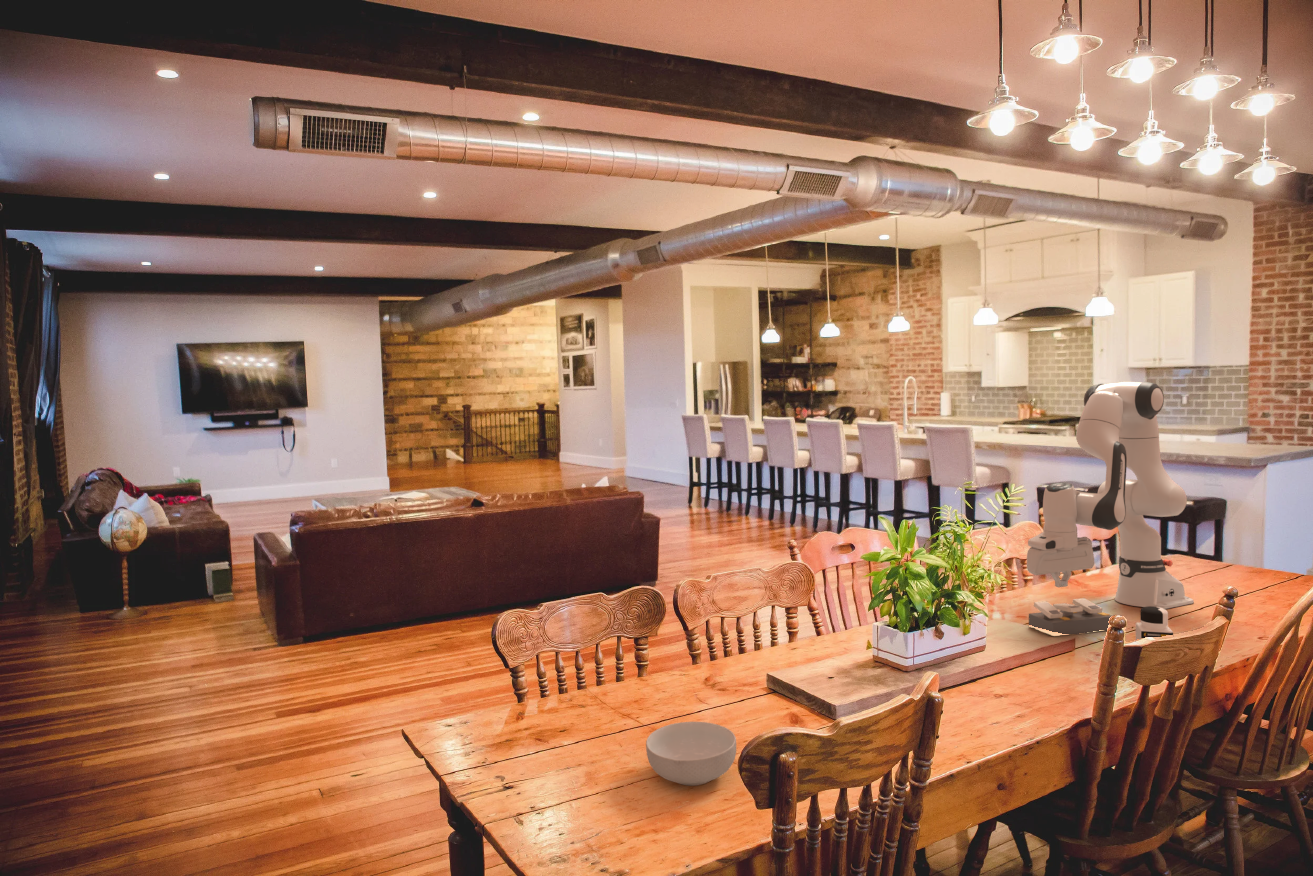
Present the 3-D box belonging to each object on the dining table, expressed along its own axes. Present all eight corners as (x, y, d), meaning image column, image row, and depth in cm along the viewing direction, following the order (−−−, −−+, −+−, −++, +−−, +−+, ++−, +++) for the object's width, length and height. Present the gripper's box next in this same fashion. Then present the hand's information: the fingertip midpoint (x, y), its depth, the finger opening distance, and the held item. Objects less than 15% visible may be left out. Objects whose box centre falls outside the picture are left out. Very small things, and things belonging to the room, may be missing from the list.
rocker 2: (1065, 607, 236) (1064, 602, 236) (1082, 611, 229) (1082, 606, 229) (1053, 608, 235) (1053, 603, 235) (1070, 612, 229) (1070, 607, 229)
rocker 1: (1045, 604, 235) (1046, 600, 234) (1062, 617, 228) (1063, 613, 228) (1033, 606, 234) (1034, 601, 234) (1049, 618, 227) (1050, 614, 227)
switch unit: (1087, 620, 240) (1087, 603, 240) (1113, 630, 230) (1113, 612, 230) (1028, 627, 236) (1028, 609, 235) (1052, 637, 226) (1052, 618, 226)
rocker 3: (1084, 602, 238) (1084, 597, 237) (1101, 612, 231) (1102, 607, 231) (1072, 603, 237) (1072, 598, 237) (1089, 613, 230) (1090, 609, 230)
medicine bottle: (1141, 657, 207) (1141, 610, 207) (1135, 648, 214) (1135, 603, 213) (1173, 659, 205) (1173, 612, 204) (1166, 650, 212) (1166, 605, 211)
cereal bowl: (680, 748, 163) (679, 714, 162) (753, 769, 153) (752, 732, 153) (628, 783, 149) (627, 745, 149) (705, 807, 139) (704, 767, 139)
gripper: (1083, 534, 240) (1084, 580, 241) (1022, 541, 235) (1023, 587, 236) (1099, 537, 234) (1100, 585, 235) (1037, 545, 229) (1038, 593, 230)
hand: (1061, 586), depth 235 cm, fingers closed
